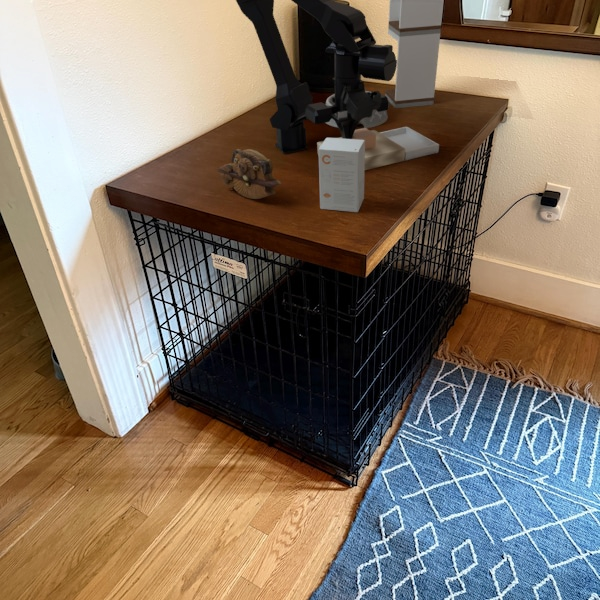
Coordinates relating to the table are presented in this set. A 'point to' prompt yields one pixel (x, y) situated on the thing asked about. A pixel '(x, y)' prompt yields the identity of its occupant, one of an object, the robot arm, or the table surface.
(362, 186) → the small box
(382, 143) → the platform
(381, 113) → the dog bowl
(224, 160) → the table surface
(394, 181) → the table surface
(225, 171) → the wooden carving
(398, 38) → the banded white pillar
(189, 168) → the table surface
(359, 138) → the tall peach block
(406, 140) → the bin
